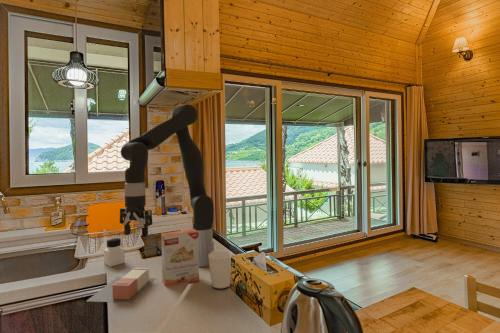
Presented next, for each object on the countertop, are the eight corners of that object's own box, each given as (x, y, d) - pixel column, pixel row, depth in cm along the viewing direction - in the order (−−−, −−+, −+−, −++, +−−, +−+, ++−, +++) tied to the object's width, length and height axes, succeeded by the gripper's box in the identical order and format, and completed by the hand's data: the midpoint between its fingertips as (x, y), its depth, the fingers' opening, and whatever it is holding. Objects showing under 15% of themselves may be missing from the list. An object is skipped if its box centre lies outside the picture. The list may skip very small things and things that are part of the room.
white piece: (156, 281, 121) (155, 266, 121) (132, 306, 101) (131, 288, 101) (116, 280, 122) (116, 265, 122) (86, 304, 102) (85, 286, 102)
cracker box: (165, 289, 113) (163, 236, 112) (162, 283, 118) (160, 232, 117) (200, 281, 119) (198, 231, 119) (195, 276, 125) (194, 228, 124)
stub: (137, 291, 109) (136, 278, 108) (129, 299, 103) (128, 285, 102) (121, 291, 109) (121, 277, 109) (112, 299, 103) (112, 285, 103)
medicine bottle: (124, 262, 142) (124, 238, 142) (109, 267, 137) (108, 241, 136) (118, 259, 147) (117, 236, 147) (103, 263, 142) (103, 239, 141)
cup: (218, 278, 122) (218, 248, 122) (238, 283, 117) (238, 252, 117) (203, 288, 114) (202, 256, 113) (224, 294, 109) (223, 260, 108)
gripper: (156, 193, 114) (157, 235, 114) (128, 192, 119) (129, 231, 120) (142, 196, 107) (143, 240, 107) (113, 194, 112) (114, 236, 113)
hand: (136, 235), depth 113 cm, fingers open, 8 cm apart
